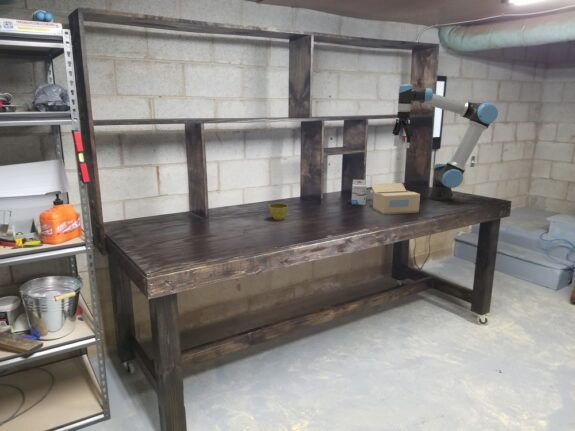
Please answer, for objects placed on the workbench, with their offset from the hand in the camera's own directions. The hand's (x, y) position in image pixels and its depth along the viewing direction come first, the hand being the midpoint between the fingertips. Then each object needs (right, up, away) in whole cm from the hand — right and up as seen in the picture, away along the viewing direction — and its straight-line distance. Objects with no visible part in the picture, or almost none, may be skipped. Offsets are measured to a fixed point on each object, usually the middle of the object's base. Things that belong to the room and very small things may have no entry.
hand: (401, 146), depth 270 cm
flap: (-9, -25, -6) cm, 27 cm away
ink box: (-26, -35, +3) cm, 44 cm away
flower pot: (-75, -44, -34) cm, 93 cm away
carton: (-7, -39, -13) cm, 42 cm away
